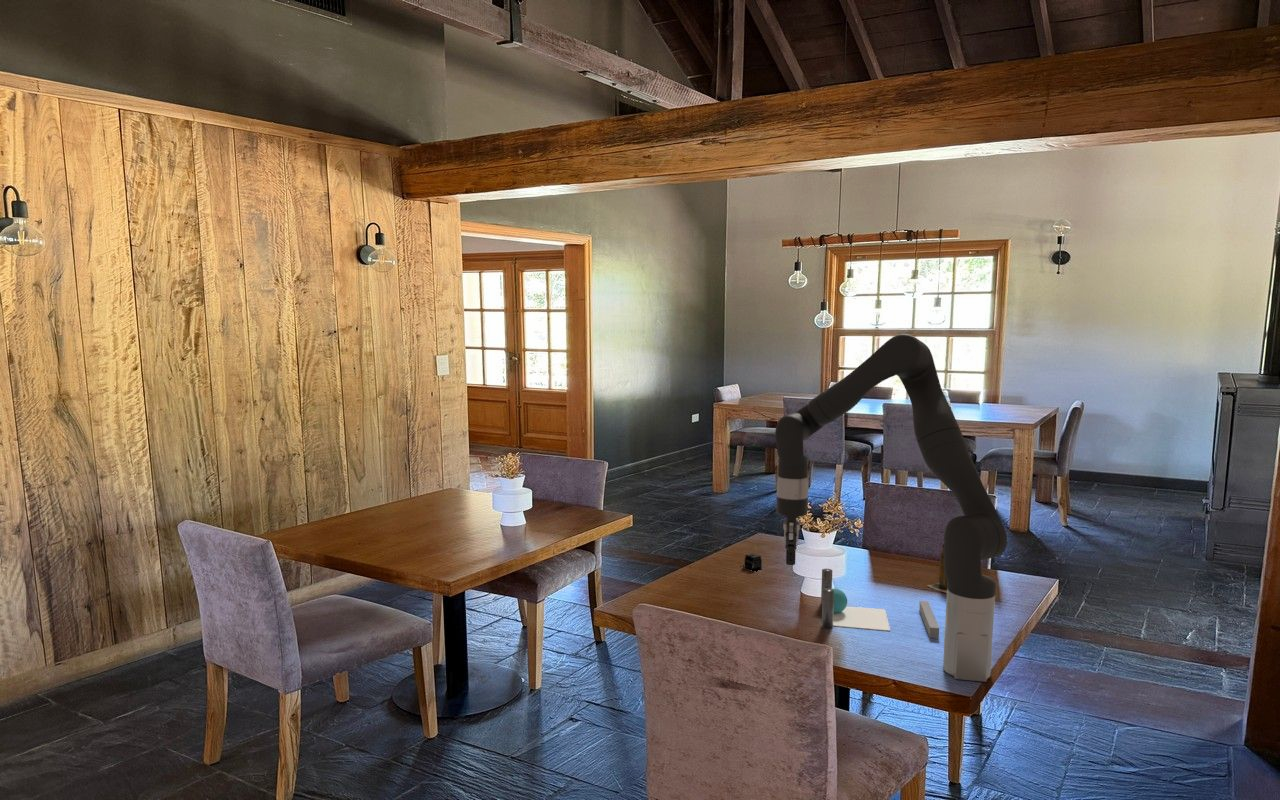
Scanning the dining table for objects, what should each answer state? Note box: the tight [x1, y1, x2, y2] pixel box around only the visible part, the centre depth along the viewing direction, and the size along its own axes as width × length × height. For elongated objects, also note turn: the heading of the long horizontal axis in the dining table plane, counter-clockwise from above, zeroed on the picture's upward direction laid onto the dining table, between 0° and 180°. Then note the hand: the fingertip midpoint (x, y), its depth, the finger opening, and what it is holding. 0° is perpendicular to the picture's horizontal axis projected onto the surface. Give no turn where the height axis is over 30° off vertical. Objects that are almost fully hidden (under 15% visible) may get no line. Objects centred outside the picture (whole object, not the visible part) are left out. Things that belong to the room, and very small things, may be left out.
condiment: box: [927, 543, 947, 594], centre depth 219 cm, size 7×8×12 cm
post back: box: [820, 568, 833, 606], centre depth 206 cm, size 3×3×9 cm
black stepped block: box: [739, 552, 763, 572], centre depth 235 cm, size 12×7×5 cm, turn 36°
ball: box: [832, 588, 848, 613], centre depth 200 cm, size 6×6×6 cm
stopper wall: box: [918, 600, 940, 640], centre depth 193 cm, size 18×2×2 cm, turn 168°
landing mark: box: [833, 605, 891, 632], centre depth 197 cm, size 14×14×1 cm
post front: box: [821, 588, 834, 630], centre depth 190 cm, size 3×3×9 cm
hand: (790, 564), depth 198 cm, fingers closed
